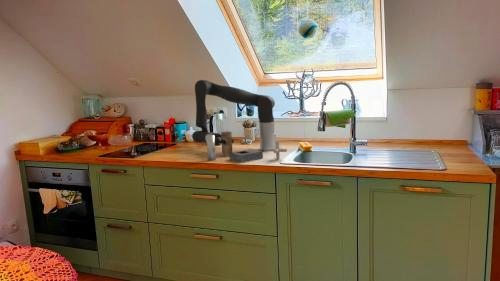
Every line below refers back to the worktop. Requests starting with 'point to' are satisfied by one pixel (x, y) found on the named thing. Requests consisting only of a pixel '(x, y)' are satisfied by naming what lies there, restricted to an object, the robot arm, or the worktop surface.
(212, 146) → the round metal bit
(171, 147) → the worktop surface
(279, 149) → the pipe connector
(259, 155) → the socket block
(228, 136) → the square walnut bit
